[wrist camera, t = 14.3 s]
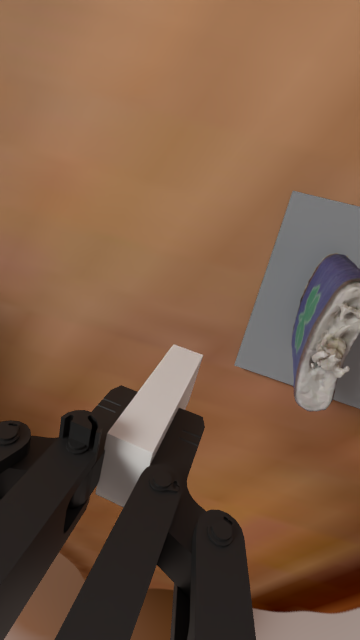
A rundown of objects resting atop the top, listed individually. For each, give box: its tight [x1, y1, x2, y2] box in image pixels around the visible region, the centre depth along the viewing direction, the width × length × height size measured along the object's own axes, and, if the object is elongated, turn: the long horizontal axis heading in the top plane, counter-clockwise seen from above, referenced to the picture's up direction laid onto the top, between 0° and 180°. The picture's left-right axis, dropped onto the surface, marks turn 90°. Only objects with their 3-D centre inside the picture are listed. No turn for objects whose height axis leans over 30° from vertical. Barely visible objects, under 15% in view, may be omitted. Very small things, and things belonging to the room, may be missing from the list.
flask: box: [291, 253, 360, 411], centre depth 23 cm, size 9×3×11 cm, turn 168°
